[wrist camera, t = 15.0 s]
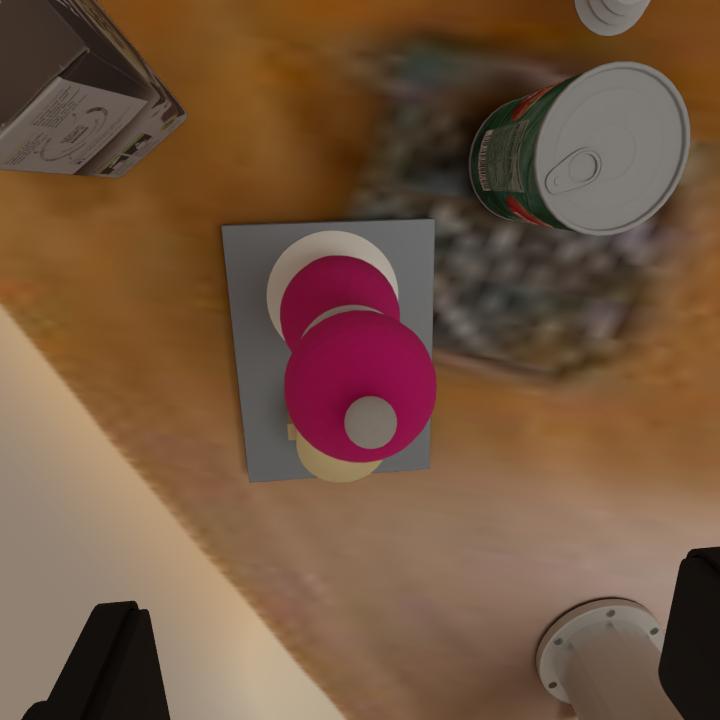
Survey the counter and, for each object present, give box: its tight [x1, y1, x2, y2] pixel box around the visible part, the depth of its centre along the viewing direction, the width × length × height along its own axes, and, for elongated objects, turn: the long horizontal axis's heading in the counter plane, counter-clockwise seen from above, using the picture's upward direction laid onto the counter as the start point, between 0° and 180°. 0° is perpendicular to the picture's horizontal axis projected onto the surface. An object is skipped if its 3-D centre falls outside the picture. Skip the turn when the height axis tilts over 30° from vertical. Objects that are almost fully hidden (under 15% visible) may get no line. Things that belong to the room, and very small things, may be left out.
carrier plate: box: [221, 218, 435, 483], centre depth 35 cm, size 19×14×6 cm
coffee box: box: [0, 0, 187, 178], centre depth 24 cm, size 9×6×16 cm
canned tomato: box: [469, 62, 690, 236], centre depth 30 cm, size 8×8×11 cm
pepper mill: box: [280, 255, 437, 463], centre depth 26 cm, size 7×7×20 cm
